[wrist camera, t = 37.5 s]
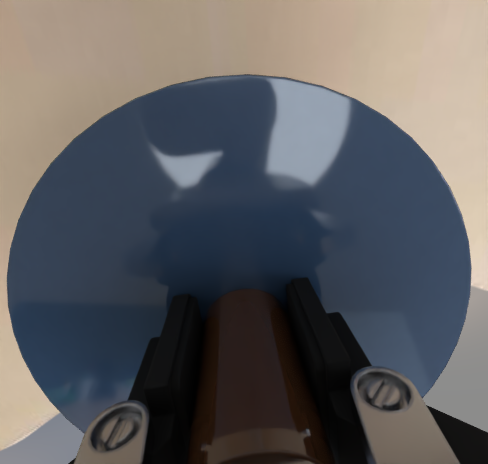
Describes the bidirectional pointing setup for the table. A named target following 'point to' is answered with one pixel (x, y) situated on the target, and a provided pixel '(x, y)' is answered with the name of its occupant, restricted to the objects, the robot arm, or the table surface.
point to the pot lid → (236, 256)
